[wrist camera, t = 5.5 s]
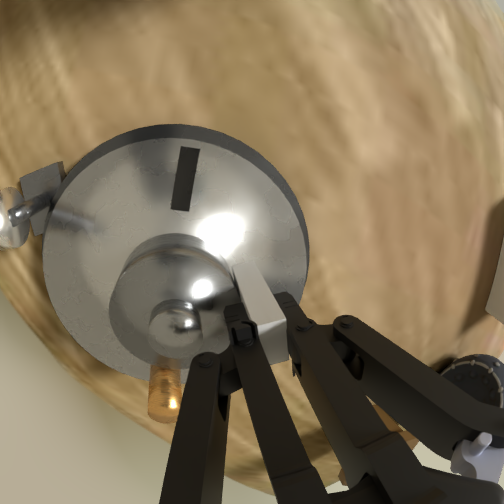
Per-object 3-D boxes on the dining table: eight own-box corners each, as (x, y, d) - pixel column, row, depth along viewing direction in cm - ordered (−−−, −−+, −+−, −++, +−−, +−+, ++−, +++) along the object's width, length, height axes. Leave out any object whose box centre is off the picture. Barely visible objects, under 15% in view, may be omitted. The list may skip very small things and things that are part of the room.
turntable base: (24, 170, 16) (12, 173, 15) (286, 107, 20) (296, 104, 18) (106, 375, 25) (103, 388, 23) (305, 335, 29) (312, 347, 27)
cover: (105, 247, 17) (79, 288, 12) (221, 221, 18) (236, 254, 13) (141, 340, 20) (135, 394, 15) (240, 320, 21) (257, 371, 16)
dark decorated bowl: (400, 411, 44) (449, 478, 26) (461, 332, 39) (529, 396, 21) (425, 406, 48) (469, 463, 30) (477, 336, 42) (535, 389, 24)
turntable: (56, 128, 14) (6, 127, 9) (327, 169, 20) (380, 183, 14) (65, 357, 21) (47, 407, 15) (266, 374, 26) (285, 424, 21)
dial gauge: (25, 176, 17) (-29, 195, 10) (62, 161, 17) (12, 173, 10) (39, 232, 19) (-6, 269, 12) (76, 220, 19) (35, 257, 12)
